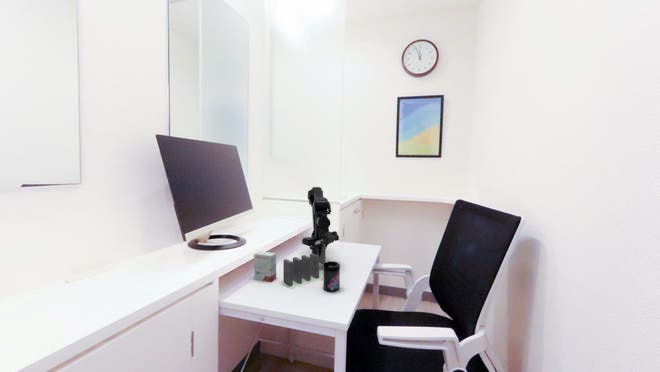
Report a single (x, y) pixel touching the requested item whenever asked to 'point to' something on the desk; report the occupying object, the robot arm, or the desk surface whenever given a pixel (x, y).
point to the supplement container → (331, 276)
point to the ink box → (265, 266)
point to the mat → (306, 281)
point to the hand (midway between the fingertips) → (320, 256)
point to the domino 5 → (322, 253)
